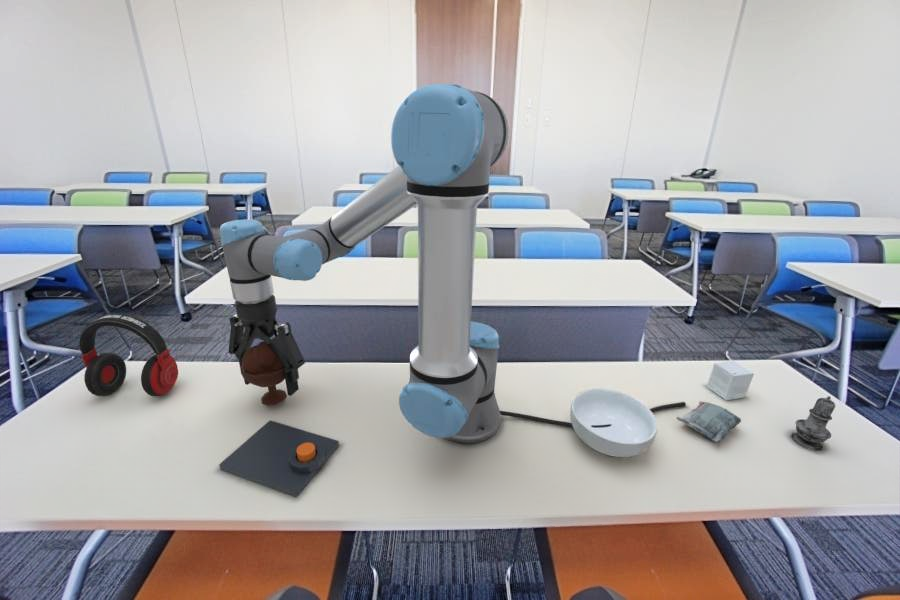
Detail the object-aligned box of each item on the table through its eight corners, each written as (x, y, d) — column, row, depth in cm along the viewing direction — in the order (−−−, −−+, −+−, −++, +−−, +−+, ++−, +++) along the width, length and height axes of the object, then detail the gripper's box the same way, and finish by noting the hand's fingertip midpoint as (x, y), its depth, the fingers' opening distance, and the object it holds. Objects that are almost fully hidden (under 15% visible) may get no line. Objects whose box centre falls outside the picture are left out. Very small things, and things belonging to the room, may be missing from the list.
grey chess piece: (824, 456, 82) (849, 409, 77) (788, 441, 85) (810, 396, 81) (824, 441, 86) (848, 396, 81) (790, 428, 89) (811, 384, 85)
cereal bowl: (557, 412, 92) (562, 386, 89) (628, 413, 92) (635, 388, 90) (580, 470, 76) (586, 441, 74) (665, 471, 77) (675, 443, 74)
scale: (341, 447, 80) (340, 435, 79) (299, 498, 69) (297, 486, 68) (270, 425, 85) (268, 414, 84) (220, 470, 74) (217, 458, 73)
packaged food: (673, 426, 89) (679, 408, 87) (698, 407, 95) (705, 390, 93) (715, 451, 82) (723, 432, 80) (739, 429, 89) (747, 411, 87)
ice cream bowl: (306, 385, 95) (298, 329, 89) (284, 415, 85) (273, 355, 79) (264, 382, 96) (253, 327, 90) (237, 412, 86) (223, 352, 80)
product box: (745, 398, 99) (755, 373, 96) (725, 401, 98) (735, 376, 95) (724, 383, 105) (733, 360, 102) (705, 386, 103) (713, 362, 100)
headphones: (83, 405, 89) (50, 326, 81) (116, 379, 98) (89, 306, 90) (164, 405, 90) (139, 327, 82) (189, 380, 99) (169, 307, 91)
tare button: (319, 452, 75) (318, 445, 74) (308, 464, 72) (307, 457, 72) (305, 447, 76) (304, 440, 75) (293, 459, 73) (292, 452, 73)
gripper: (314, 298, 81) (326, 388, 89) (225, 283, 88) (243, 367, 96) (289, 313, 74) (304, 408, 83) (194, 295, 81) (217, 384, 90)
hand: (271, 386), depth 90 cm, fingers closed on ice cream bowl, 11 cm apart
